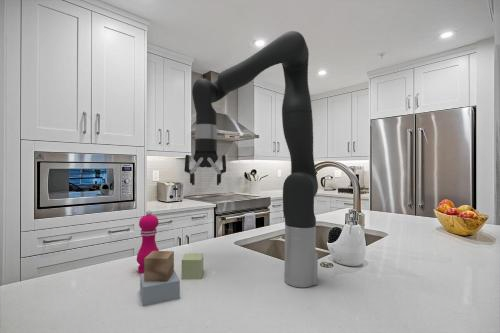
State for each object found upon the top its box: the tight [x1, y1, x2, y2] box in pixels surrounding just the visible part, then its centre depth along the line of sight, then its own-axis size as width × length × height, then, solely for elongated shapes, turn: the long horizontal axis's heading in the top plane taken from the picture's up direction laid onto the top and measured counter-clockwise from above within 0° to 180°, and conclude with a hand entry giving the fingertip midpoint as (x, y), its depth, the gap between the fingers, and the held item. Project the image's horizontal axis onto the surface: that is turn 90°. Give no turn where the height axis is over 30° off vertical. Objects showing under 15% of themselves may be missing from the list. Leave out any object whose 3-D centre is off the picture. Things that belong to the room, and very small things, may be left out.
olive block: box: [180, 252, 204, 280], centre depth 85 cm, size 6×6×6 cm
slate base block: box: [139, 270, 181, 307], centre depth 72 cm, size 9×9×5 cm
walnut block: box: [144, 250, 175, 282], centre depth 72 cm, size 6×6×6 cm
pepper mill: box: [136, 209, 160, 274], centre depth 88 cm, size 7×7×20 cm
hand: (205, 184), depth 93 cm, fingers open, 8 cm apart
